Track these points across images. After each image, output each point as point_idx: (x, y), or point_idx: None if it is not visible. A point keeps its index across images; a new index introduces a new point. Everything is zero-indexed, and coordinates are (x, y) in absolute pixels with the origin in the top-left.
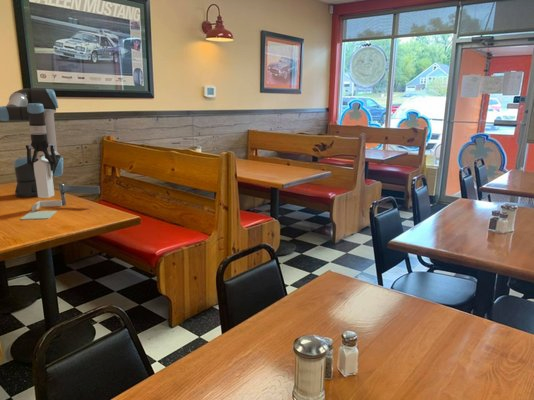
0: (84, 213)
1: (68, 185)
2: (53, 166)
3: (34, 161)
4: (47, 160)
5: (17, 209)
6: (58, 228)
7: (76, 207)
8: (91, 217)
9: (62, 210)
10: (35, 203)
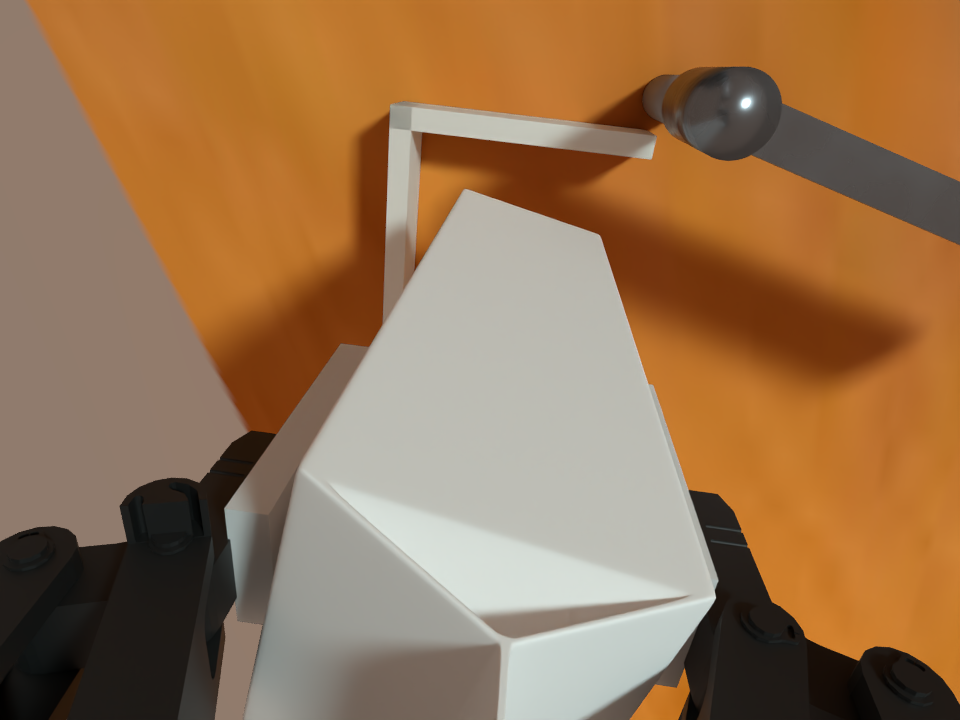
0: (846, 471)
1: (845, 176)
2: (751, 584)
3: (209, 691)
4: (617, 661)
5: (232, 193)
6: (658, 712)
7: (795, 251)
8: (883, 579)
9: (660, 332)
10: (389, 224)
